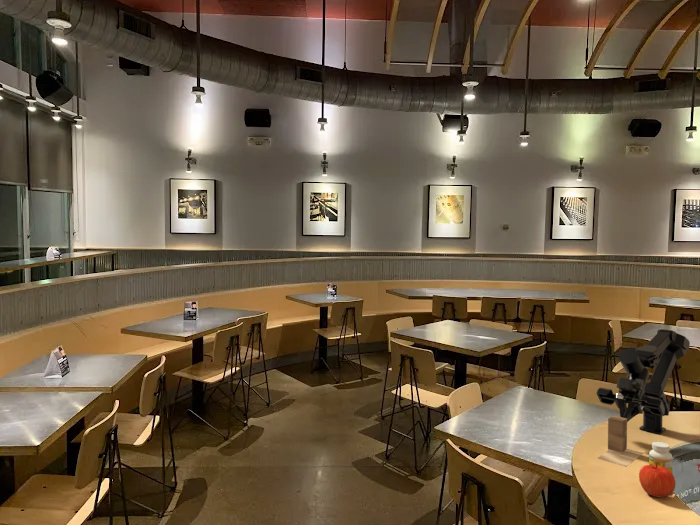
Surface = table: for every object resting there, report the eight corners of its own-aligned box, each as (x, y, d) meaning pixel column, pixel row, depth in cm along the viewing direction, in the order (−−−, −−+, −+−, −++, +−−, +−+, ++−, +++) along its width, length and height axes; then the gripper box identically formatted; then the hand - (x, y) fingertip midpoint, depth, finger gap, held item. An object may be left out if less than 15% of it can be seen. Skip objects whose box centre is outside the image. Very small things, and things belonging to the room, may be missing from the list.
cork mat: (615, 446, 162) (615, 445, 162) (643, 454, 156) (643, 452, 156) (597, 459, 152) (597, 458, 152) (626, 467, 146) (626, 466, 146)
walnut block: (612, 447, 160) (613, 415, 160) (626, 450, 157) (627, 418, 157) (607, 450, 157) (608, 418, 157) (621, 454, 155) (622, 421, 154)
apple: (637, 496, 130) (637, 465, 129) (640, 484, 136) (640, 454, 136) (674, 505, 125) (675, 473, 125) (675, 492, 132) (676, 461, 131)
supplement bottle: (677, 482, 137) (677, 446, 137) (661, 485, 136) (662, 449, 135) (659, 474, 142) (660, 439, 142) (644, 476, 141) (644, 442, 140)
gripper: (599, 363, 170) (584, 402, 163) (662, 373, 156) (649, 417, 149) (608, 382, 175) (594, 421, 168) (670, 393, 162) (658, 437, 155)
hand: (622, 423), depth 160 cm, fingers closed
